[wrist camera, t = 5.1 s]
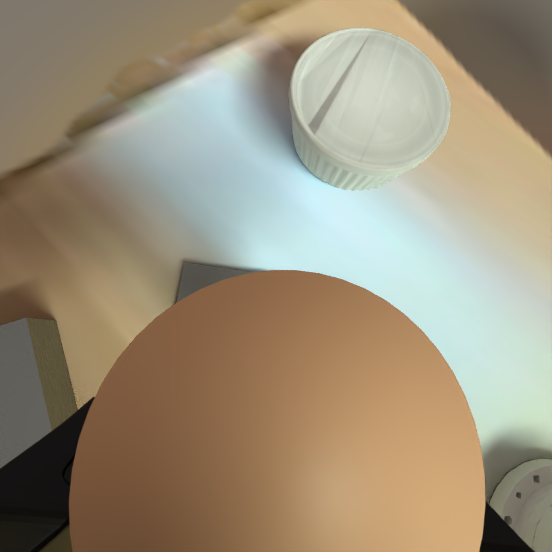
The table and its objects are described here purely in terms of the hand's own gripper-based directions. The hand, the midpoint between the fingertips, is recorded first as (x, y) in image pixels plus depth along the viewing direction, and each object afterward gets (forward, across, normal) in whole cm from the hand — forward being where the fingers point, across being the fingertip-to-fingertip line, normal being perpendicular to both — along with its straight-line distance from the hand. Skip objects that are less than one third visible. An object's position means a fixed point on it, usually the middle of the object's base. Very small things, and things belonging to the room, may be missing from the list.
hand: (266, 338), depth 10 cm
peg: (+4, 0, +6) cm, 7 cm away
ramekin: (+22, -6, -2) cm, 23 cm away
